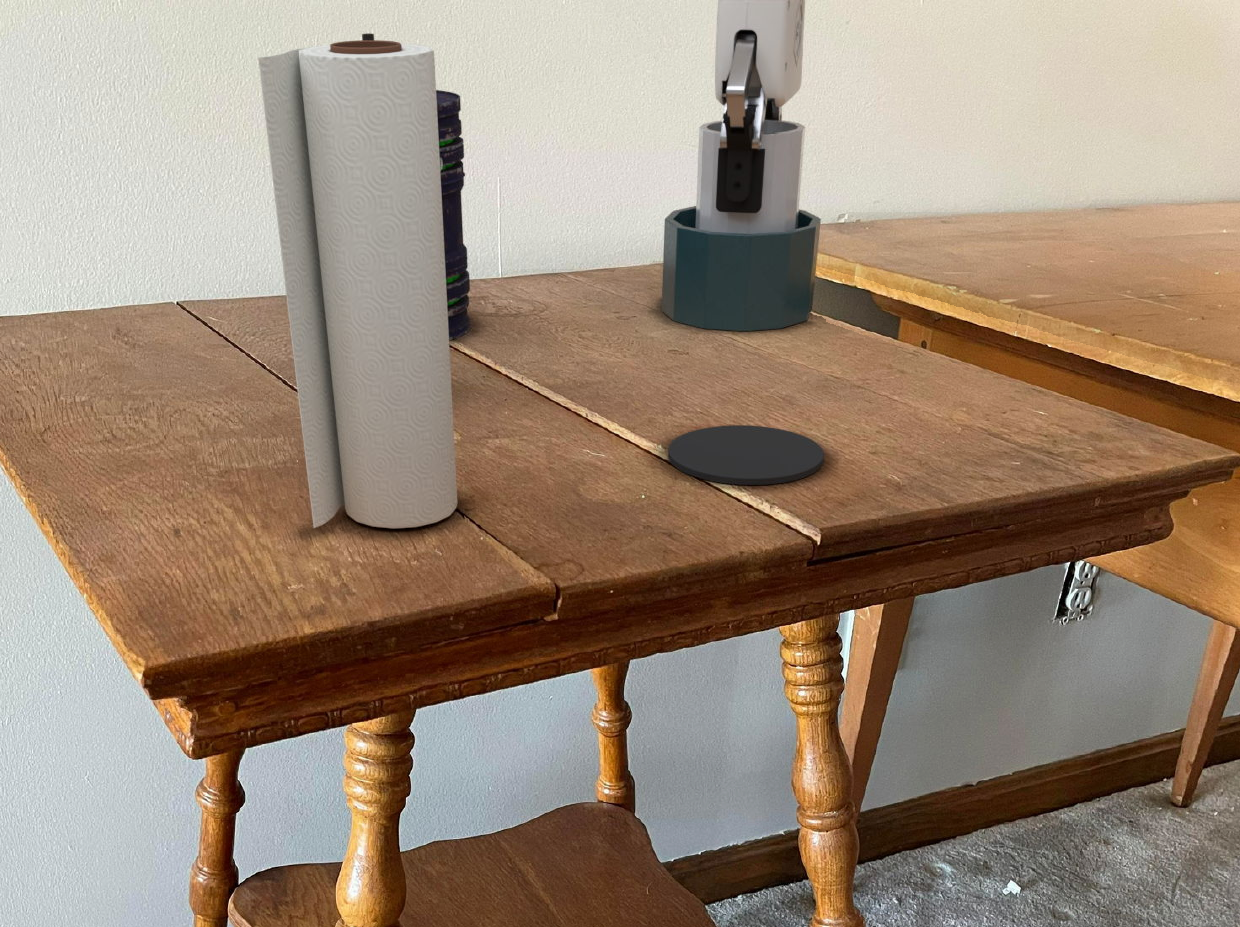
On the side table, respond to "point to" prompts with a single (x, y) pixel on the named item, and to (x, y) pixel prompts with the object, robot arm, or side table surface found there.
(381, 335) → the paper towel roll
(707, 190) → the silver cup
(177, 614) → the side table surface
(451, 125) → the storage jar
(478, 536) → the side table surface
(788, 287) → the pail
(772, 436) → the coaster
